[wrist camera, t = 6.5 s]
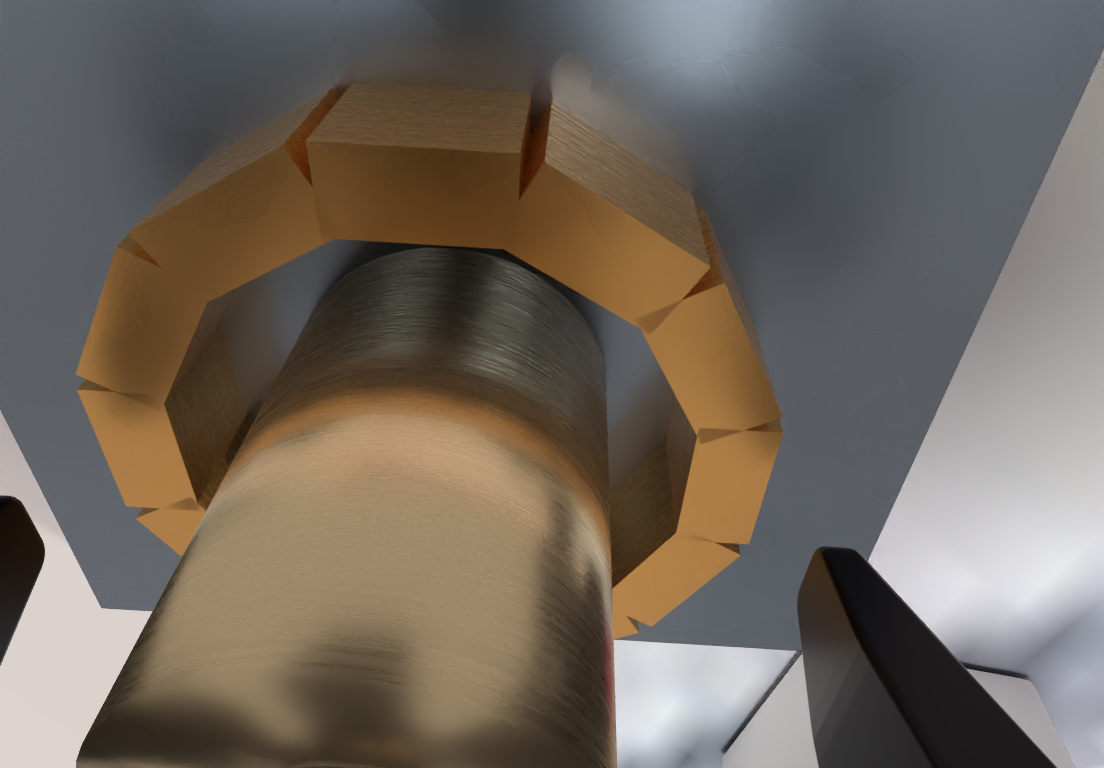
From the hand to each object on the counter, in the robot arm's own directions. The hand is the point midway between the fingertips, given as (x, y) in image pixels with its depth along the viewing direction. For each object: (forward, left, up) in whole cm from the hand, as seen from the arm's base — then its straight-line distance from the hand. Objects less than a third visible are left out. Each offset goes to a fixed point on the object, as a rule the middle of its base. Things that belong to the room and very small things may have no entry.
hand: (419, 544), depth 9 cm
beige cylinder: (0, 0, -3) cm, 3 cm away
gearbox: (+2, 0, -7) cm, 8 cm away
